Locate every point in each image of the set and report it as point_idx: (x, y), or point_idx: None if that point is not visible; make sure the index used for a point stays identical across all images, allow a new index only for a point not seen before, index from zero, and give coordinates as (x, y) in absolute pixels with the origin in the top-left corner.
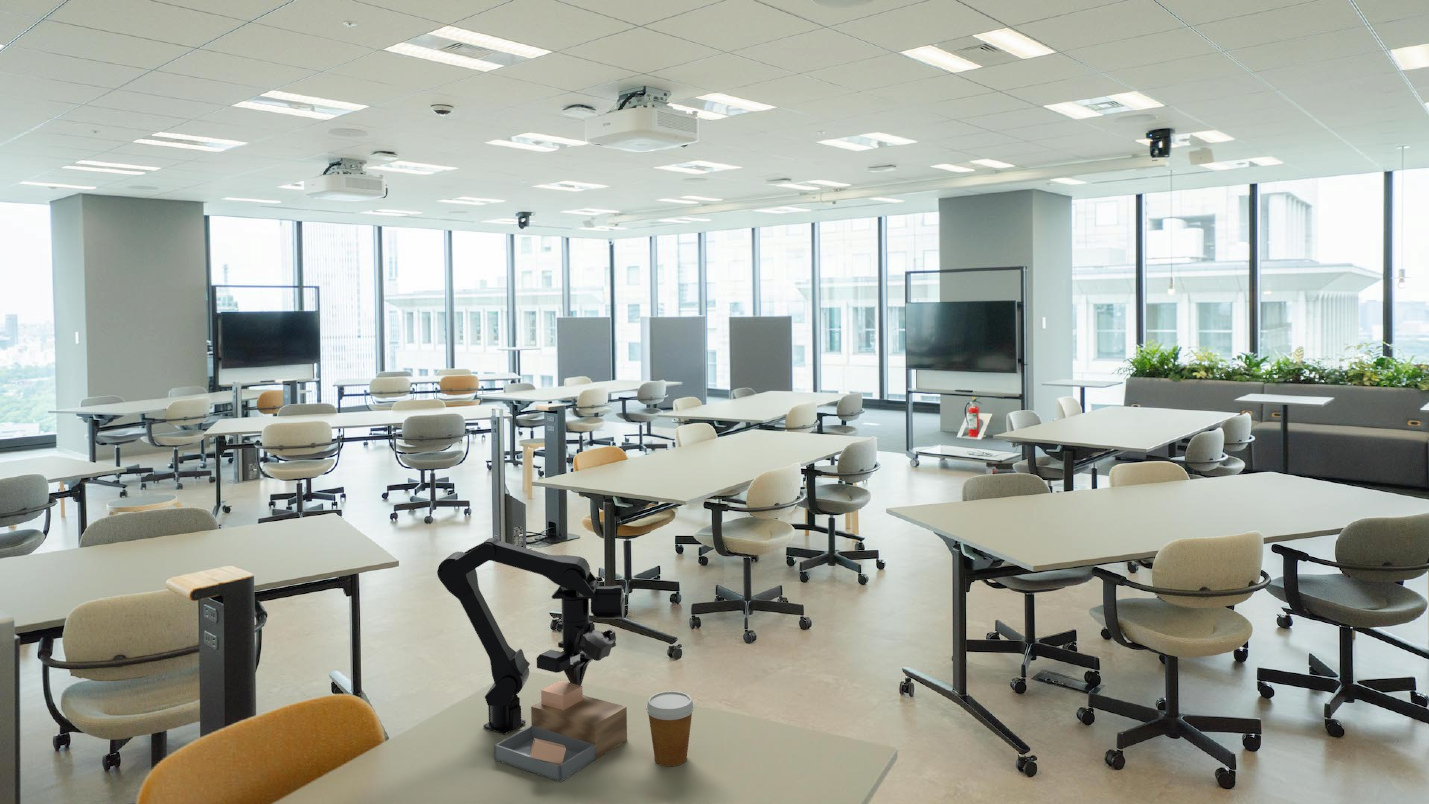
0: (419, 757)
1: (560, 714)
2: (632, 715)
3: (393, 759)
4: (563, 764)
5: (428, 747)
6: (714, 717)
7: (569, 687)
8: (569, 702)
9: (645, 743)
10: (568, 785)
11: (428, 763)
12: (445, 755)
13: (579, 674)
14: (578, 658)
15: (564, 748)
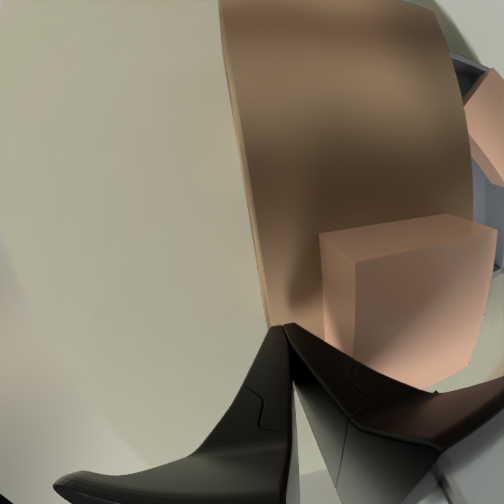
0: (488, 351)
1: (471, 191)
2: (82, 187)
3: (492, 363)
4: (484, 66)
5: (465, 374)
6: (6, 48)
7: (414, 307)
8: (430, 222)
9: (203, 7)
10: (461, 54)
11: (499, 327)
12: (481, 336)
13: (329, 380)
14: (500, 487)
15: (495, 71)
